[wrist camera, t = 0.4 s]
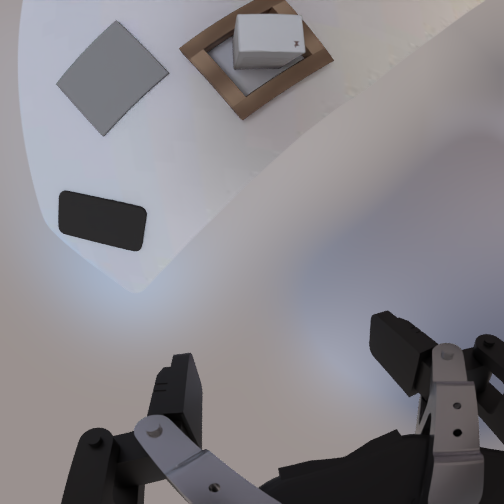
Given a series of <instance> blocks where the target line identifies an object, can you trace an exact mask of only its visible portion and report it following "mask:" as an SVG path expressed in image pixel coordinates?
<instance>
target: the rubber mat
mask: <svg viewBox="0 0 504 504" xmlns="http://www.w3.org/2000/svg"><path fill="white" fill-rule="evenodd" d="M168 74H169V73H168V72H167V71H166V70H165V69H164V67H163V66H162V65H161V64H160V63H159V62H158V61H157V60H156V59H155V58H154V57H153V56H152V55H151V54H150V53H149V52H148V51H147V50H146V49H145V48H144V47H143V46H142V45H141V44H140V43H139V42H138V41H137V40H136V39H135V38H134V37H133V36H132V35H131V34H130V33H129V32H128V31H127V30H126V29H125V28H124V27H123V26H122V25H121V24H120V23H119V22H118V21H115V22H114V23H112V24H111V25H110V26H109V27H108V28H107V29H106V30H105V31H104V32H103V33H102V34H101V35H100V36H99V37H98V38H97V39H95V40H94V41H93V42H92V44H91V45H90V46H89V47H88V48H87V49H86V50H85V51H84V52H83V53H82V54H81V55H80V56H79V57H78V58H77V59H76V61H75V62H74V63H73V64H72V65H71V66H70V67H69V69H68V70H67V71H66V72H65V73H64V75H63V76H62V77H61V78H60V80H59V81H58V82H57V83H56V85H57V86H58V87H59V88H60V89H61V90H62V92H63V93H64V94H65V95H66V96H67V97H68V98H69V99H70V101H71V102H72V103H73V104H74V105H75V106H76V107H77V108H78V110H79V111H80V112H81V113H82V114H83V115H84V116H85V117H86V119H87V120H88V121H89V122H90V123H91V124H92V125H93V126H94V127H95V128H96V130H97V131H98V132H99V133H100V134H101V135H102V136H105V135H106V133H107V132H108V131H109V130H110V129H111V128H112V127H113V126H114V125H115V124H116V123H117V122H118V121H119V119H120V118H121V117H122V116H123V115H124V114H125V113H126V112H127V111H128V110H129V109H130V108H131V107H132V106H133V105H134V104H135V103H136V102H137V101H139V100H140V99H141V98H142V97H143V96H144V95H145V94H146V93H147V92H148V91H149V90H150V89H151V88H153V87H154V86H155V85H156V84H157V83H158V82H159V81H161V80H162V79H163V78H164V77H165V76H166V75H168Z"/></svg>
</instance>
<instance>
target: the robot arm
mask: <svg viewBox="0 0 504 504" xmlns="http://www.w3.org/2000/svg"><path fill="white" fill-rule="evenodd" d="M369 346H370V351H371V353H372V355H373V356H374V357H375V359H376V360H377V361H378V362H379V363H380V364H381V365H382V366H383V368H384V369H385V370H386V371H387V372H388V373H389V374H390V376H391V377H392V378H393V379H394V380H395V381H396V382H397V384H398V385H399V386H400V387H401V388H402V389H403V391H404V392H405V393H406V394H407V395H408V396H409V397H411V396H413V395H415V394H417V393H420V394H421V396H420V399H419V407H418V417H417V424H416V431H415V434H409V435H403V436H401V435H400V433H399V432H398V430H397V429H396V430H394V431H391V432H390V433H387V434H385V435H382V436H380V437H378V438H375V439H373V440H371V441H369V442H368V443H366V444H365V445H363V446H362V447H360V448H358V449H357V450H355V451H354V452H352V453H350V454H349V455H347V456H345V457H341V458H333V459H325V460H312V461H307V462H303V463H299V464H295V465H291V466H286V467H281V468H278V470H279V476H278V477H276V478H273V479H272V480H270V481H268V482H266V483H265V484H263V485H262V486H260V487H259V488H257V487H256V486H254V485H253V484H251V483H250V482H249V481H247V480H246V479H244V478H243V477H242V476H240V475H239V474H238V473H236V472H235V471H234V470H232V469H231V468H230V467H229V466H227V465H226V464H225V463H224V462H222V461H221V460H220V459H219V458H217V457H216V456H215V455H214V454H213V453H211V452H210V451H209V450H207V449H205V450H202V386H201V382H200V378H199V375H198V372H197V369H196V366H195V362H194V359H193V356H192V354H191V353H185V354H177V355H174V356H173V359H172V363H171V367H164V368H163V369H162V370H161V371H160V372H159V374H158V375H157V378H156V382H155V386H154V389H153V393H152V398H151V402H150V406H149V410H148V415H147V417H145V418H143V419H141V420H140V421H139V422H138V423H137V425H136V426H135V428H134V431H132V432H129V433H125V434H121V435H116V436H113V435H112V434H111V433H110V432H109V431H108V430H106V429H104V428H93V429H90V430H88V431H87V432H85V433H84V434H83V435H82V436H81V438H80V440H79V442H78V445H77V448H76V452H75V455H74V458H73V461H72V465H71V468H70V472H69V475H68V479H67V483H66V486H65V490H64V494H63V498H62V502H61V504H144V489H145V484H148V483H152V482H156V481H160V480H164V479H167V480H168V482H169V483H170V484H171V485H172V486H173V487H174V488H175V489H176V491H177V492H178V493H179V494H180V495H181V496H182V497H183V498H184V499H185V500H186V501H187V502H188V503H189V504H504V451H500V450H494V449H487V448H482V447H480V446H479V445H480V444H479V422H478V415H479V416H480V418H481V419H482V420H483V421H484V422H485V423H486V424H487V426H488V427H489V428H490V429H491V430H492V431H493V432H494V434H495V435H496V436H497V437H498V438H499V440H500V441H501V442H502V443H503V444H504V394H503V395H502V394H501V393H500V392H499V391H498V390H497V389H496V388H495V387H494V386H493V385H491V383H489V380H490V378H491V375H492V373H493V374H494V375H495V376H496V377H497V378H499V379H500V380H501V381H502V382H503V384H504V342H503V341H501V340H500V339H499V338H497V337H496V336H494V335H489V334H484V335H480V336H478V337H477V338H476V341H475V344H474V347H473V348H468V349H464V350H461V348H459V347H458V346H456V345H454V344H451V343H442V344H437V343H436V342H435V341H434V340H432V339H431V338H430V337H428V336H427V335H426V334H425V333H423V332H421V330H420V329H418V328H417V327H415V326H414V325H413V324H412V323H410V322H409V321H407V320H404V319H402V318H397V317H396V316H394V315H393V314H392V313H391V312H389V311H384V312H381V313H377V314H374V315H372V317H371V326H370V341H369Z"/></svg>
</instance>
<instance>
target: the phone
mask: <svg viewBox="0 0 504 504" xmlns="http://www.w3.org/2000/svg"><path fill="white" fill-rule="evenodd" d="M146 216H147V213H146V210H145V209H144V208H142V207H140V206H136V205H132V204H127V203H124V202H118V201H115V200H109V199H104V198H99V197H95V196H90V195H85V194H80V193H75V192H71V191H63V192H61V193H60V195H59V215H58V223H59V230H60V231H61V232H62V233H63V234H67V235H70V236H74V237H78V238H82V239H86V240H90V241H94V242H98V243H102V244H106V245H110V246H114V247H118V248H122V249H126V250H131V251H139V250H140V249H141V247H142V243H143V236H144V229H145V223H146Z"/></svg>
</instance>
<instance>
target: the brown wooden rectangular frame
mask: <svg viewBox="0 0 504 504" xmlns="http://www.w3.org/2000/svg"><path fill="white" fill-rule="evenodd" d="M238 14H290V15H298V14H297V13H296V12H295V11H294V9H293V8H292V7H291V6H290V5H289V4H288V3H287V2H286V1H285V0H254V1H252V2H250V3H248V4H246V5H244V6H243V7H241V8H239V9H237V10H236V11H234V12H232V13H231V14H229V15H227V16H226V17H224V18H222V19H221V20H219V21H218V22H216V23H214V24H213V25H211V26H210V27H208V28H207V29H205V30H204V31H202V32H201V33H200V34H198V35H197V36H195V37H194V38H192V39H191V40H190V41H188V42H187V43H186V44H184V45H183V46H182V47H180V48H179V49H180V51H181V52H182V53H183V55H184V56H185V57H186V58H187V59H188V60H189V61H190V62H191V63H192V64H193V65H194V66H195V67H196V68H197V69H198V71H199V72H200V73H201V74H202V75H203V76H204V77H205V78H206V79H207V80H208V82H209V83H210V84H211V85H212V86H213V87H214V88H215V89H216V91H217V92H218V93H219V94H220V95H221V96H222V97H223V99H224V100H225V101H226V102H227V103H228V104H229V106H230V107H231V108H232V109H233V110H234V112H235V113H236V114H237V115H238V116H239V118H240V119H242V120H244V119H245V118H246V117H248V116H249V115H250V114H252V113H253V112H255V111H256V110H257V109H259V108H260V107H262V106H263V105H264V104H266V103H267V102H269V101H270V100H272V99H273V98H275V97H276V96H278V95H279V94H281V93H282V92H284V91H285V90H287V89H288V88H290V87H291V86H293V85H294V84H296V83H297V82H299V81H301V80H302V79H304V78H305V77H307V76H309V75H310V74H312V73H313V72H315V71H317V70H318V69H320V68H322V67H324V66H325V65H327V64H329V63H330V62H332V61H334V60H333V58H332V57H331V56H330V54H329V53H328V51H327V50H326V49H325V47H324V46H323V45H322V43H321V42H320V41H319V39H318V38H317V37H316V36H315V34H314V33H313V32H312V31H311V29H310V28H309V27H308V26H307V25H306V23H305V22H304V21H303V20H302V22H303V32H304V42H305V51H306V52H305V53H304V54H302V56H303V58H304V59H303V60H301V61H299V62H298V63H296V64H294V65H293V66H291V67H289V68H288V69H286V70H285V71H283V72H281V73H280V74H278V75H277V76H275V77H274V78H272V79H271V80H269V81H268V82H266V83H265V84H263V85H262V86H260V87H259V88H257V89H256V90H254V91H253V92H252V93H250V94H249V95H247V96H246V97H245V96H244V94H243V93H242V92H241V91H240V90H239V89H238V87H237V86H236V85H235V84H234V83H233V82H232V80H231V79H230V78H229V77H228V76H227V75H226V74H225V72H224V71H223V70H222V69H221V68H220V67H219V66H218V65H217V63H216V62H215V61H214V60H213V59H212V58H211V57H210V56H209V55H208V54H207V52H209V51H210V50H212V49H213V48H214V47H216V46H217V45H219V44H220V43H222V42H223V41H225V40H226V39H228V38H229V37H231V36H233V35H234V30H235V23H236V17H237V15H238Z"/></svg>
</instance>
